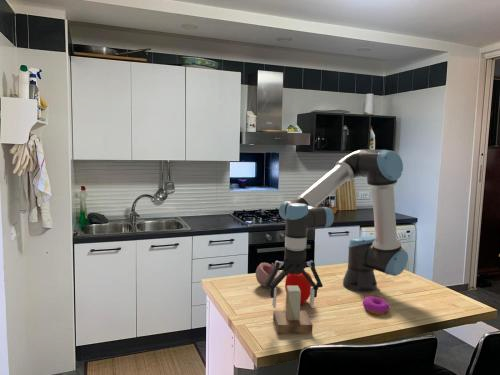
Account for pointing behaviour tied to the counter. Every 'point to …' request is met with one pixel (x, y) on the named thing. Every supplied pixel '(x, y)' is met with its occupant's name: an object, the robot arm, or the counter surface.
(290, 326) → the walnut block
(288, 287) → the box
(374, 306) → the donut
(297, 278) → the tomato
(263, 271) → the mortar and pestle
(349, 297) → the counter surface
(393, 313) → the counter surface
